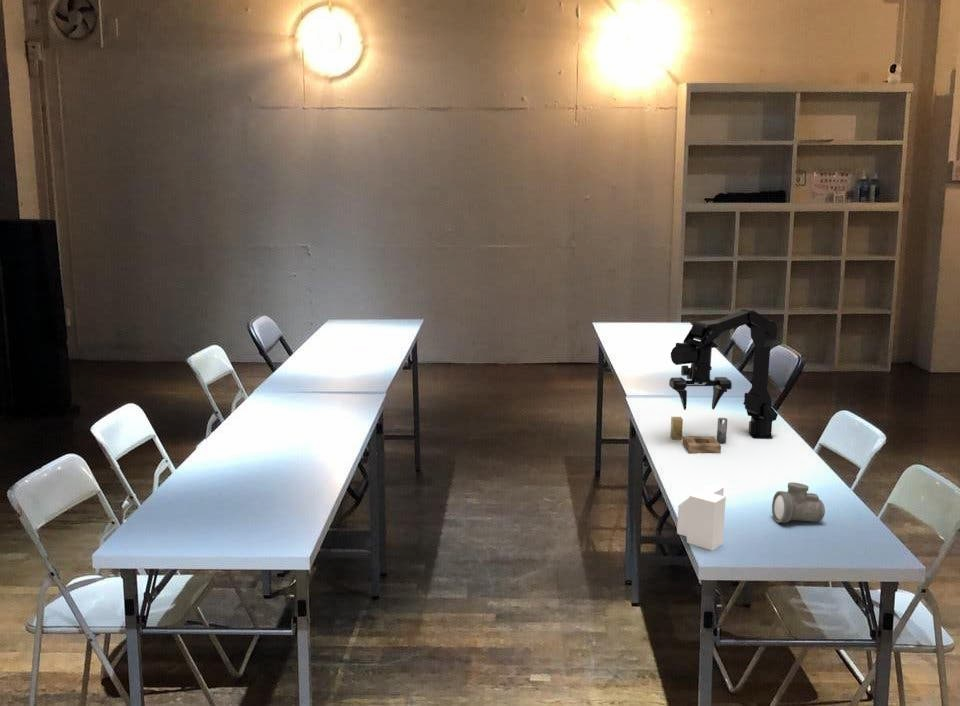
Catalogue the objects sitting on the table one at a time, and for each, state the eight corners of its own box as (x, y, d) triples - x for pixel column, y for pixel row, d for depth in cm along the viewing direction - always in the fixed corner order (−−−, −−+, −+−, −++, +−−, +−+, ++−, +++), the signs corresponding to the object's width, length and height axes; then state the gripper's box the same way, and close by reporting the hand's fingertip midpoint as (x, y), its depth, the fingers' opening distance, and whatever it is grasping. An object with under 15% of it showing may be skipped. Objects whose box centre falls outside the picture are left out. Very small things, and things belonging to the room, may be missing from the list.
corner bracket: (712, 550, 220) (715, 502, 217) (670, 537, 227) (672, 491, 225) (732, 537, 227) (736, 490, 225) (691, 525, 235) (694, 480, 232)
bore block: (713, 444, 301) (713, 436, 301) (720, 453, 292) (721, 445, 291) (682, 443, 302) (682, 436, 301) (688, 453, 292) (689, 445, 291)
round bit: (724, 441, 305) (726, 417, 303) (726, 443, 302) (728, 420, 300) (715, 441, 305) (717, 417, 303) (717, 443, 302) (719, 420, 300)
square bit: (679, 437, 309) (681, 416, 308) (681, 439, 306) (682, 419, 304) (670, 436, 309) (671, 416, 308) (672, 439, 306) (673, 419, 304)
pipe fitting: (779, 526, 233) (786, 487, 232) (768, 517, 241) (774, 478, 240) (825, 531, 234) (832, 492, 233) (812, 521, 242) (819, 483, 241)
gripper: (722, 356, 302) (719, 402, 305) (665, 356, 300) (663, 403, 304) (733, 363, 291) (730, 411, 294) (675, 364, 289) (672, 412, 293)
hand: (698, 409), depth 296 cm, fingers open, 9 cm apart
